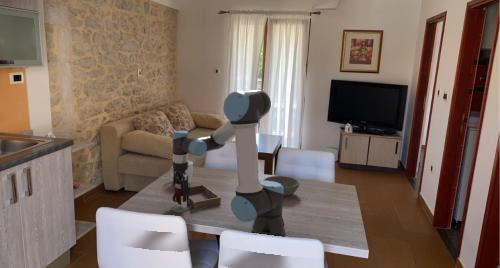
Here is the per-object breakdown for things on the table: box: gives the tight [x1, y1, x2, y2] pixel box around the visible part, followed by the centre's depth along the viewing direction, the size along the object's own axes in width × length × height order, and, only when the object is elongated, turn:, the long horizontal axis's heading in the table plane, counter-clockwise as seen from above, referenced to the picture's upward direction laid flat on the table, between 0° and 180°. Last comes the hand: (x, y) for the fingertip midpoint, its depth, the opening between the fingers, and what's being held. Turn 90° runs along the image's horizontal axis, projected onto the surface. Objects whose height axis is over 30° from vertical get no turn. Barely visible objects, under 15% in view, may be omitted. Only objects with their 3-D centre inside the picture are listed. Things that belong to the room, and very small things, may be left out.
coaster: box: [170, 202, 191, 213], centre depth 185 cm, size 10×10×1 cm
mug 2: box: [172, 183, 191, 205], centre depth 183 cm, size 10×8×10 cm
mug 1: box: [169, 160, 194, 184], centre depth 220 cm, size 15×11×13 cm
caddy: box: [187, 184, 222, 210], centre depth 196 cm, size 22×15×4 cm
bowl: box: [262, 175, 300, 197], centre depth 208 cm, size 21×21×8 cm
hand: (180, 203), depth 184 cm, fingers closed on mug 2, 8 cm apart
